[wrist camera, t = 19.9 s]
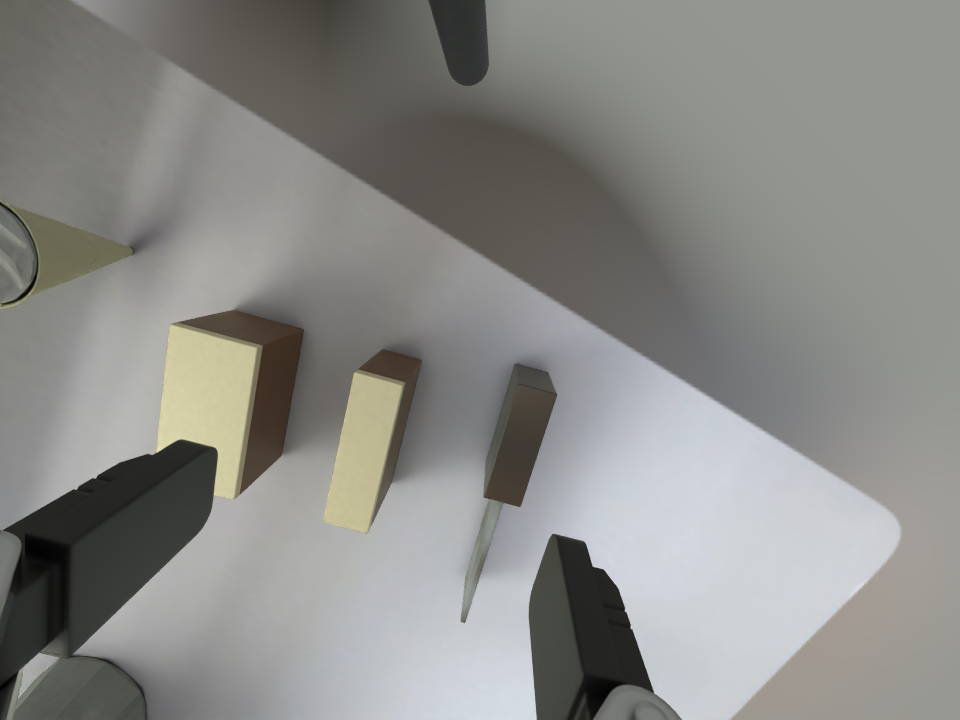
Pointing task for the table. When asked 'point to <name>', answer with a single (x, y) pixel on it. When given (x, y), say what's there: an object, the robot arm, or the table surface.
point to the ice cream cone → (46, 254)
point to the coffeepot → (81, 693)
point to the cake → (230, 392)
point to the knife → (511, 458)
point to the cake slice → (370, 439)
